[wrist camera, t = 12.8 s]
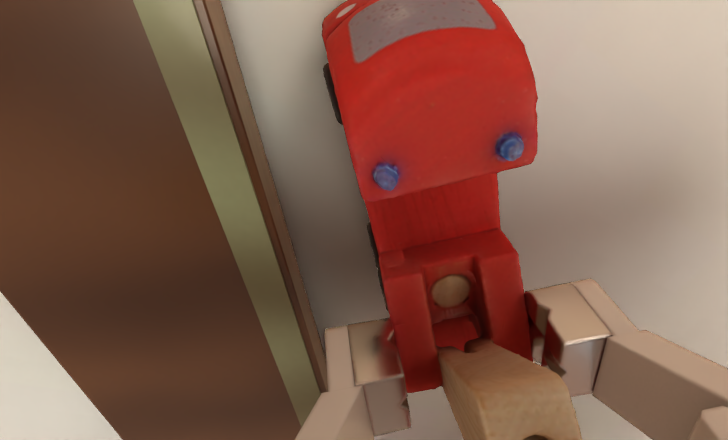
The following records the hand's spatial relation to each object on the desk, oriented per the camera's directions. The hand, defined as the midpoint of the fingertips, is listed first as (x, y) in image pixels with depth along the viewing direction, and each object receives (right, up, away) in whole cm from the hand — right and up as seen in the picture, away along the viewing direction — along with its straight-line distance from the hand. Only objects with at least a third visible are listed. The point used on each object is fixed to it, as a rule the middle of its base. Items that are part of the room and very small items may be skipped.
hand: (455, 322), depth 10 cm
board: (-8, +1, +3) cm, 8 cm away
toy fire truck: (0, +2, +3) cm, 4 cm away
